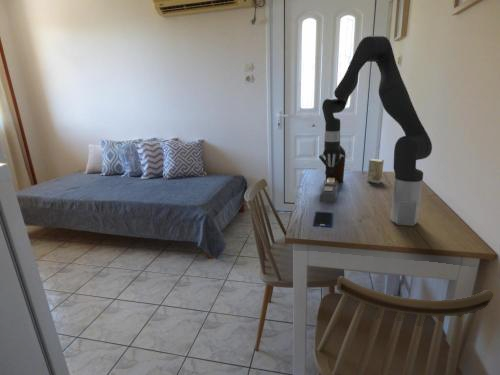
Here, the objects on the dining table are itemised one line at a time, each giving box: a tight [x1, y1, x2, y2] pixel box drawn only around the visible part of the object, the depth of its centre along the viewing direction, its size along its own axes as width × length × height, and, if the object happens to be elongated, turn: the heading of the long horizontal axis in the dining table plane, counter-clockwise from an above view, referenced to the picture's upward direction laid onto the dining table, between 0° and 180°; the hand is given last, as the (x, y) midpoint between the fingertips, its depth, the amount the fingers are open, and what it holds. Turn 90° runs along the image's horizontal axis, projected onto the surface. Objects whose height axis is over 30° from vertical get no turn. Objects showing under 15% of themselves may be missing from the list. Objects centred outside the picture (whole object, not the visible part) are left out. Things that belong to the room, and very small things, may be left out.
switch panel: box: [319, 179, 339, 203], centre depth 149 cm, size 22×7×4 cm, turn 161°
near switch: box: [324, 186, 333, 191], centre depth 143 cm, size 5×4×1 cm
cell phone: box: [312, 211, 334, 228], centre depth 122 cm, size 7×14×1 cm, turn 164°
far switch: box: [327, 178, 335, 184], centre depth 154 cm, size 5×4×1 cm
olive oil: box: [324, 145, 346, 185], centre depth 164 cm, size 11×11×25 cm
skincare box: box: [366, 158, 384, 184], centre depth 163 cm, size 6×4×12 cm
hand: (331, 173), depth 154 cm, fingers closed
